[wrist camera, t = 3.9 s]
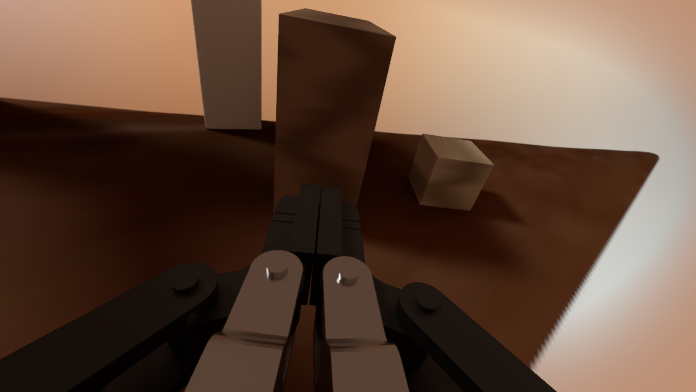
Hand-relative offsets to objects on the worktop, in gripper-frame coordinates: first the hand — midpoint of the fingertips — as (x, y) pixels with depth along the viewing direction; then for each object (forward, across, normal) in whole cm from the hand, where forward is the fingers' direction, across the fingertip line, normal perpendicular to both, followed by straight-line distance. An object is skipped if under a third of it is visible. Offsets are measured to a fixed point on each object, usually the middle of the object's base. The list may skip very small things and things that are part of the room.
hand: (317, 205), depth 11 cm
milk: (+25, +11, +7) cm, 29 cm away
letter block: (+14, -12, +7) cm, 20 cm away
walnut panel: (+15, 0, +7) cm, 17 cm away
